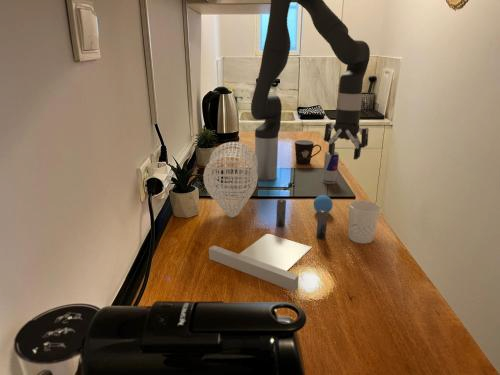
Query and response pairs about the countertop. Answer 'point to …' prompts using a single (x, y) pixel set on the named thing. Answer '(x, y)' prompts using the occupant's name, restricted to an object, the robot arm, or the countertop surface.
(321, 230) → the right post
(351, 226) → the white cup
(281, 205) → the left post
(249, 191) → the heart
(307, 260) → the countertop surface
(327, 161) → the energy drink
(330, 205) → the ball
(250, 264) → the stopper wall
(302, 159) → the coffee mug
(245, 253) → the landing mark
